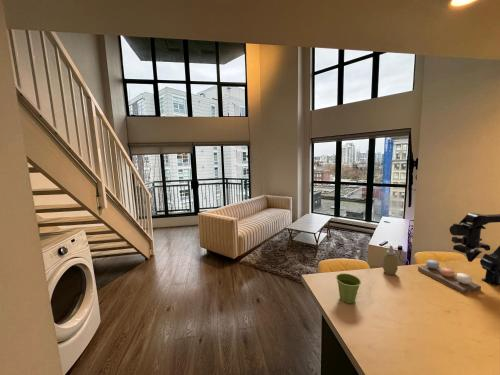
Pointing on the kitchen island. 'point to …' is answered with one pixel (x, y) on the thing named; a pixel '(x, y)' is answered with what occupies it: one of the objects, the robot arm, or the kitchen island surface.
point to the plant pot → (348, 287)
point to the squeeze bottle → (390, 262)
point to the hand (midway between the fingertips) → (469, 261)
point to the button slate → (432, 264)
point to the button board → (449, 280)
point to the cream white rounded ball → (464, 278)
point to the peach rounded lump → (447, 272)
